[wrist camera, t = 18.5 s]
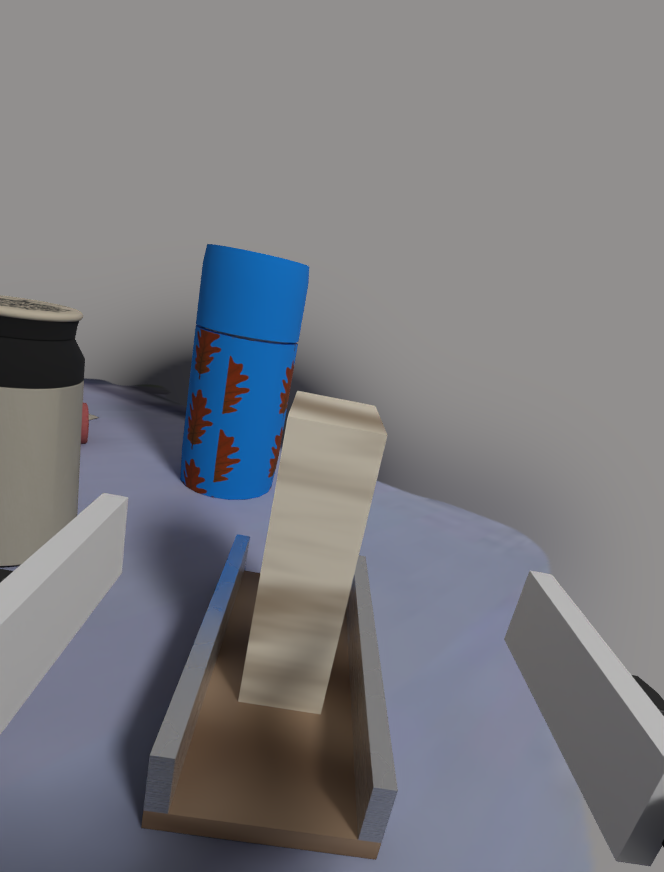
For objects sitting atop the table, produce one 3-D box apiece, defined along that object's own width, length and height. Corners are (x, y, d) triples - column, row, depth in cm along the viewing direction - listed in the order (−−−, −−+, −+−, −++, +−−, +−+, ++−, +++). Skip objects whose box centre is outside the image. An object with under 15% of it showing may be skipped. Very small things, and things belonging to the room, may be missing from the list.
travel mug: (58, 572, 34) (67, 319, 29) (-74, 568, 32) (-88, 293, 27) (87, 519, 41) (99, 310, 36) (-18, 512, 39) (-21, 289, 34)
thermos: (240, 458, 62) (270, 262, 55) (291, 491, 55) (332, 271, 48) (161, 467, 55) (184, 240, 48) (209, 507, 48) (243, 247, 41)
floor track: (376, 859, 20) (397, 791, 19) (141, 828, 20) (149, 754, 18) (354, 600, 37) (365, 556, 36) (229, 579, 37) (236, 534, 36)
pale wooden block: (320, 714, 25) (387, 435, 21) (237, 701, 25) (288, 416, 21) (322, 637, 31) (375, 405, 27) (255, 626, 31) (297, 390, 26)
